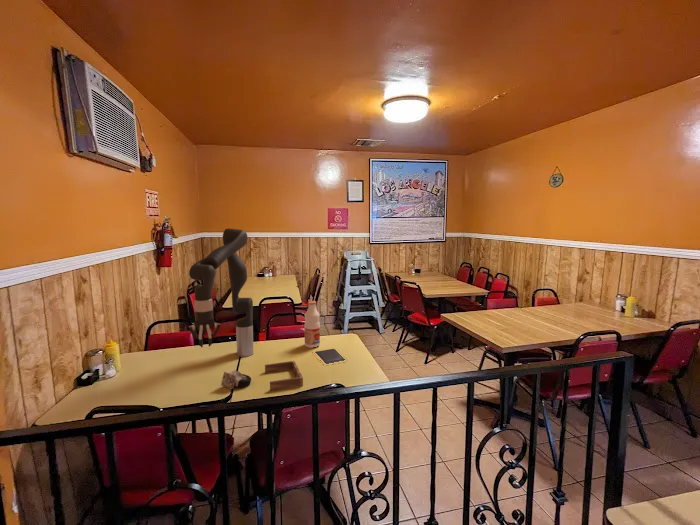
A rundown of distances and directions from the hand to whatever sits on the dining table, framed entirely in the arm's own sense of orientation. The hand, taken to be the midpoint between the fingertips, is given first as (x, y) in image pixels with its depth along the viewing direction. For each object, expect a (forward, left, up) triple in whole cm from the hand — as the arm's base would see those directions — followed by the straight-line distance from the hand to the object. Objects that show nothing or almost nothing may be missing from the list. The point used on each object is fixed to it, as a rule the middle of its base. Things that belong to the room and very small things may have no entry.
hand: (205, 346), depth 155 cm
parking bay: (0, +34, -21) cm, 40 cm away
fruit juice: (-38, +59, -21) cm, 73 cm away
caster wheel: (-1, +13, -21) cm, 25 cm away
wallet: (-18, +64, -22) cm, 70 cm away
